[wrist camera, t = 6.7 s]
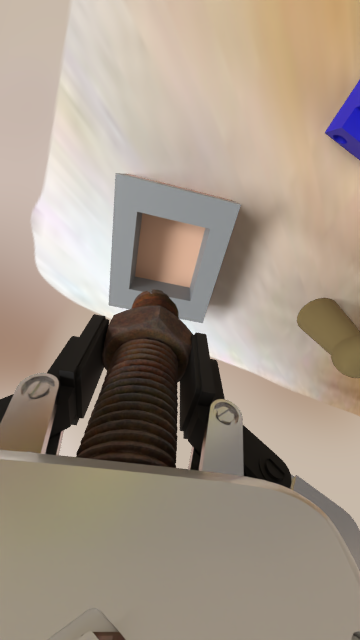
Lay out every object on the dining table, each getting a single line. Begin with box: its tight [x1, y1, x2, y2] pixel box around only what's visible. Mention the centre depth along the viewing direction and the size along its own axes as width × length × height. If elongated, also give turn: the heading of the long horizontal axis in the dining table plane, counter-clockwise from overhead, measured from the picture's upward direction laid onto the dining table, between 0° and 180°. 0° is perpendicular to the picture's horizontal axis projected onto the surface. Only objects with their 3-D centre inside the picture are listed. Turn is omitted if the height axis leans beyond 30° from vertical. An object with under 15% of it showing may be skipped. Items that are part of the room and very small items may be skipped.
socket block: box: [109, 173, 241, 323], centre depth 27 cm, size 12×14×5 cm
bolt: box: [76, 289, 193, 640], centre depth 9 cm, size 6×5×15 cm
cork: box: [297, 298, 360, 378], centre depth 30 cm, size 6×6×11 cm
